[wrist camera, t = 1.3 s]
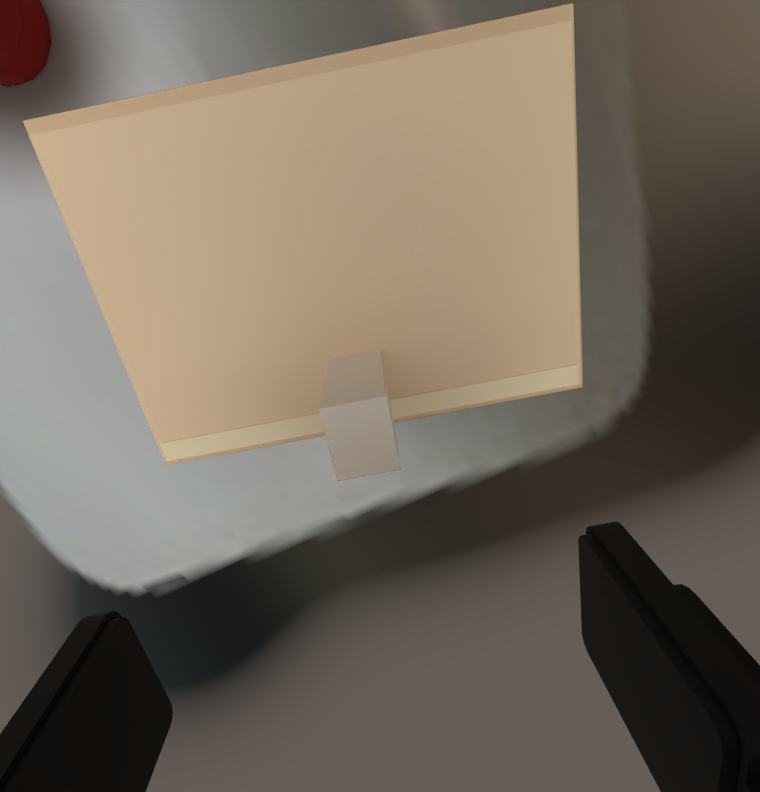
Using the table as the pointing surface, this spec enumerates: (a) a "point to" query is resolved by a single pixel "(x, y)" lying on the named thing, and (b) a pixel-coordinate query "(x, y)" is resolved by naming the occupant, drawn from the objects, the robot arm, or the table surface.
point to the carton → (319, 67)
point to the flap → (336, 246)
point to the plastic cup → (22, 40)
